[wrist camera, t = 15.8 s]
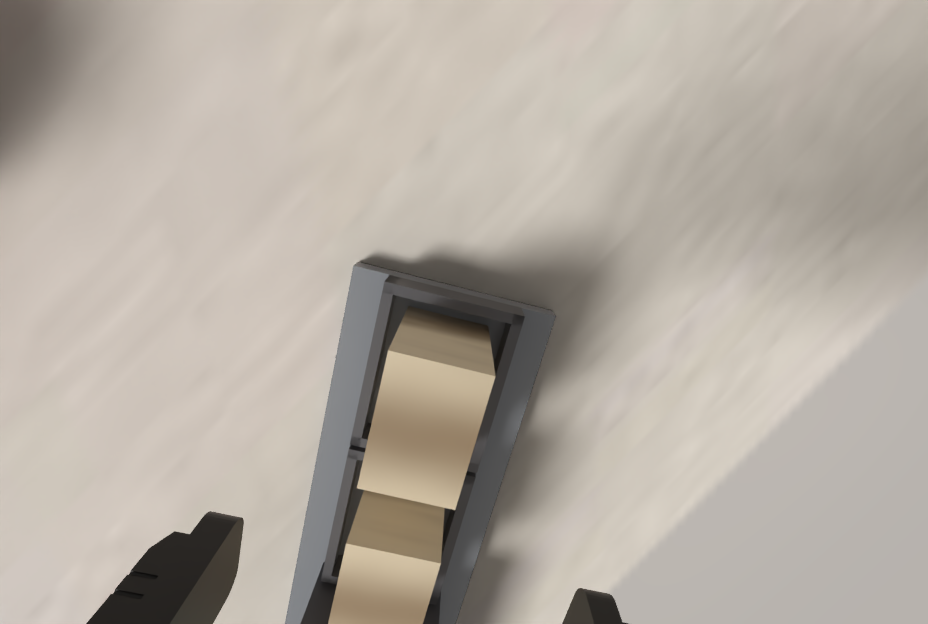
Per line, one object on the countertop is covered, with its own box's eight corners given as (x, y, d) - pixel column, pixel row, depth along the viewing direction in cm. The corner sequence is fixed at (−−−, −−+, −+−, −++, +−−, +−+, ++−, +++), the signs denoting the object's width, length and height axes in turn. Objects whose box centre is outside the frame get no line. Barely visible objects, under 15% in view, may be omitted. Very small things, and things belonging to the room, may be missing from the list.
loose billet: (408, 305, 22) (388, 350, 16) (488, 325, 22) (495, 376, 17) (383, 413, 24) (356, 488, 18) (457, 430, 24) (454, 510, 18)
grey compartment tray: (358, 261, 23) (325, 287, 17) (552, 310, 23) (577, 349, 18) (285, 636, 29) (246, 736, 24) (437, 666, 30) (431, 769, 25)
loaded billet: (374, 458, 25) (346, 543, 19) (446, 474, 25) (440, 563, 19) (353, 546, 26) (321, 650, 20) (422, 561, 26) (409, 667, 21)
